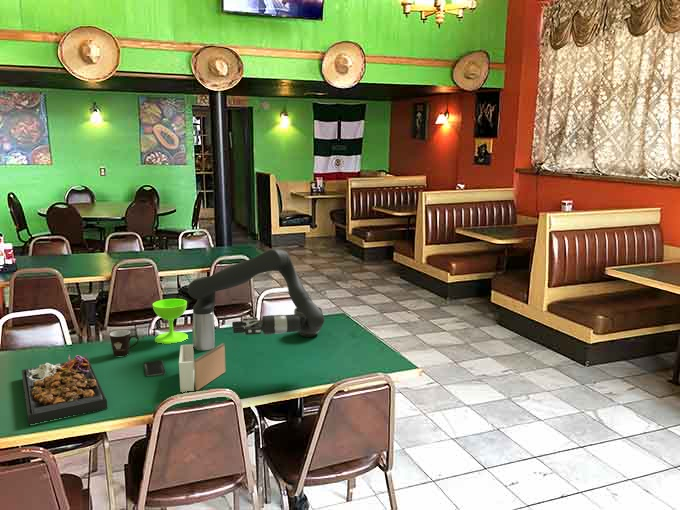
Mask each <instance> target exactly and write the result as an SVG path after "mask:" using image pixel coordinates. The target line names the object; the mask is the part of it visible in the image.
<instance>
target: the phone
mask: <svg viewBox="0 0 680 510" xmlns="http://www.w3.org/2000/svg"><path fill="white" fill-rule="evenodd" d="M163 361H164V360H161V359H160V360H153V361H145V362H143V368H144V374H145V377H146V376H152V377H157V376H156V375H159V376H164V374H165V375H166V368H165V366H164V365H165V364H164V362H163Z"/></svg>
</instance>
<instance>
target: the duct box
mask: <svg viewBox="0 0 680 510" xmlns="http://www.w3.org/2000/svg"><path fill="white" fill-rule="evenodd" d="M179 348H180V349H179V358H178V368H179V369H178V371H179V372H178V373H179V388H180V392H182V393H183V392H185V391H186V392H185V393H188V392H187V391H194V392H195V366H194V360H195V352H194V348H193V343H192V344H191V343H190V344H180V346H179ZM182 393H181V394H182ZM183 394H184V393H183Z"/></svg>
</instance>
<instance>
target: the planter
mask: <svg viewBox="0 0 680 510" xmlns="http://www.w3.org/2000/svg"><path fill="white" fill-rule="evenodd" d="M317 307H318V308H319V309H320V310H321V312H322V313H323V309H322V308H321V307H319V306H317ZM293 314H296V315H299V316H300V317H305V315H304V314H303V313H301V312H299V311H298V309H297V308H296V307H295V308H294V311H293ZM320 331H321V329H320V330H319V331H317V332H313V333H307V332H299V331H297V332H298V334H299V335H300V336H301V337H306V338H311V337H315V336H317V334H319V332H320Z"/></svg>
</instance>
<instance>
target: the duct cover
mask: <svg viewBox="0 0 680 510" xmlns="http://www.w3.org/2000/svg"><path fill="white" fill-rule="evenodd" d="M225 345H226V344H225V343H223V342H222V343H221V344H219V345H217V346H215V347H214V348H213V349H210V350H208V351H206V353H203V354H202V355H200V356H198V357H197V358H194V388H195V390H196V391H199V390H201V389H202V388H203V387H205V386H207V385H208V384H209V383H210V382H212V381H214V380H215V379H217V378H218V377H220V376H222V375H223V374H224V373H226V349H225V347H226V346H225Z"/></svg>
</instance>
